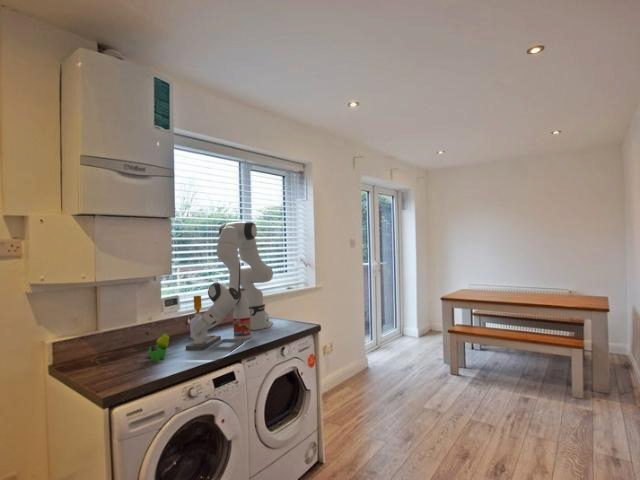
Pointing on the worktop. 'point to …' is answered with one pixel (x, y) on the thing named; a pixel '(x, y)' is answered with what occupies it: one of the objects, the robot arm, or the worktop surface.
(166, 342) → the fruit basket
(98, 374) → the worktop surface
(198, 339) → the charger
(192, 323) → the soap bottle
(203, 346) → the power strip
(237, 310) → the fruit juice
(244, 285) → the robot arm
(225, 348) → the tray
